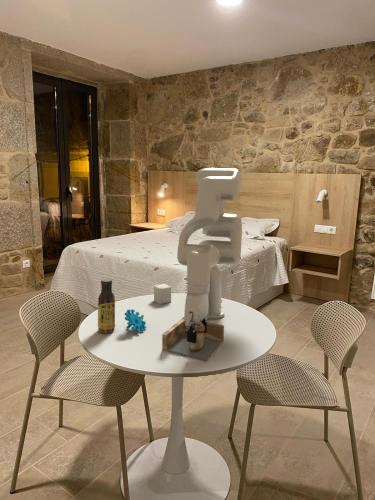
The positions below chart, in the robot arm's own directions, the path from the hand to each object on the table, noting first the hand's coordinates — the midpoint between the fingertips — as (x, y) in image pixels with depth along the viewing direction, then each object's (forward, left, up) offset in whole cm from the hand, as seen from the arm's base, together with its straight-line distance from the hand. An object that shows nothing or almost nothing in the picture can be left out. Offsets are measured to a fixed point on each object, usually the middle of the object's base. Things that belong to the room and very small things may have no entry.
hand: (197, 336), depth 124 cm
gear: (-4, -27, -5) cm, 28 cm away
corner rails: (-2, -2, -5) cm, 5 cm away
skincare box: (-35, -33, -5) cm, 48 cm away
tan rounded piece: (+1, 0, -3) cm, 3 cm away
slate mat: (-2, -2, -5) cm, 5 cm away
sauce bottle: (+2, -36, -5) cm, 36 cm away
